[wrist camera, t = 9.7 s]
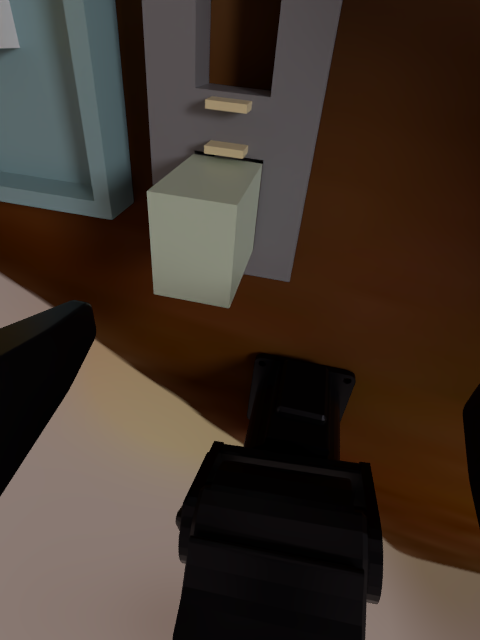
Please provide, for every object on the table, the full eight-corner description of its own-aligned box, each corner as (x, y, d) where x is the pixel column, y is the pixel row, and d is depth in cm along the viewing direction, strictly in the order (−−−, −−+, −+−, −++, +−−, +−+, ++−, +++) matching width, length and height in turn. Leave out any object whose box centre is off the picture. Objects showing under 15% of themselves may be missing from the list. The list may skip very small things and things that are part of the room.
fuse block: (292, 263, 21) (287, 292, 18) (170, 242, 21) (149, 267, 19) (442, -527, 8) (482, -747, 6) (144, -509, 9) (78, -694, 7)
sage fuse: (260, 231, 20) (229, 308, 14) (205, 222, 20) (153, 293, 15) (269, 151, 18) (237, 205, 12) (207, 142, 18) (146, 191, 12)
